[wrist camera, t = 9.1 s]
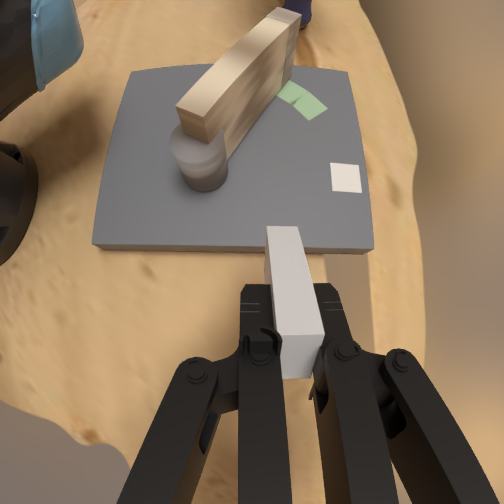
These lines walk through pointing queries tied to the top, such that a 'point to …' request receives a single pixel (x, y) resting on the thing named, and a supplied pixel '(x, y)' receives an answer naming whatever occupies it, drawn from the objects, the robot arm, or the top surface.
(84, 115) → the top surface
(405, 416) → the robot arm
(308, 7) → the rubber mallet
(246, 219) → the board
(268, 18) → the wooden block
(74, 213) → the top surface
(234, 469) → the top surface
